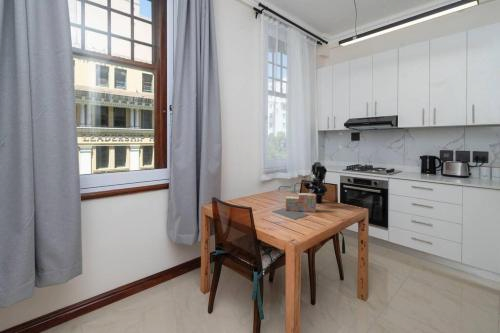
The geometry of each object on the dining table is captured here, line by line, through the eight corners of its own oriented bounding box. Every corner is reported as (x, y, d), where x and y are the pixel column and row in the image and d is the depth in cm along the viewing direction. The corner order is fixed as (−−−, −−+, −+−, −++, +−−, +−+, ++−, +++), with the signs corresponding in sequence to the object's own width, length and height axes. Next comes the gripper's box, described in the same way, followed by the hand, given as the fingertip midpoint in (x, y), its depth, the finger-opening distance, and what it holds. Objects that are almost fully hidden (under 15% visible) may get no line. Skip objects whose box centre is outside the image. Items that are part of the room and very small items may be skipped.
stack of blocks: (285, 210, 176) (286, 194, 175) (285, 208, 182) (285, 192, 181) (315, 212, 174) (316, 195, 173) (314, 209, 180) (314, 193, 179)
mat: (285, 208, 184) (285, 207, 184) (308, 215, 167) (308, 214, 167) (271, 211, 176) (271, 211, 176) (294, 219, 158) (294, 218, 158)
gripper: (305, 172, 192) (295, 187, 186) (325, 174, 177) (316, 191, 172) (310, 180, 197) (301, 196, 192) (331, 184, 183) (322, 200, 177)
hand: (310, 195), depth 183 cm, fingers closed
